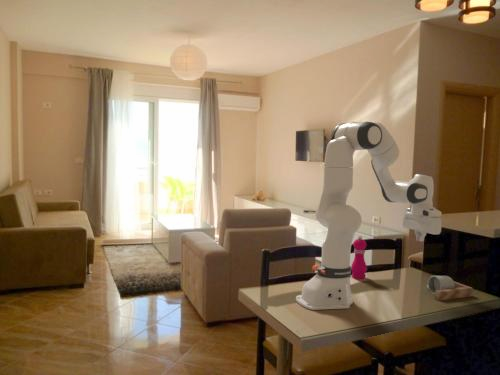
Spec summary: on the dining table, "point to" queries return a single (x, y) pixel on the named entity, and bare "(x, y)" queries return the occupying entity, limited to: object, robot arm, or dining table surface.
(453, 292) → the walnut stop
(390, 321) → the dining table surface
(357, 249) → the pepper mill
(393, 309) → the dining table surface
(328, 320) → the dining table surface
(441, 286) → the ceramic mug
